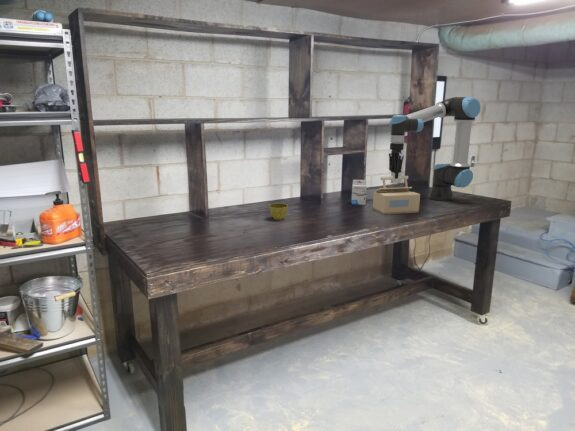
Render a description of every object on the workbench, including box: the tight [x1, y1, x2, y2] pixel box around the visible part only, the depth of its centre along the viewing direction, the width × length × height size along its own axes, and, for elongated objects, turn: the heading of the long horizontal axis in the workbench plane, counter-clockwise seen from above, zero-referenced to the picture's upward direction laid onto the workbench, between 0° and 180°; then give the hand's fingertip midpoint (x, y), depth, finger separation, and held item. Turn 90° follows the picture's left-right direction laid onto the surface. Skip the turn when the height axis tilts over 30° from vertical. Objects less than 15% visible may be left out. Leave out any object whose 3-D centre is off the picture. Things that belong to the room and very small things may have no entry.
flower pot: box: [268, 203, 289, 221], centre depth 235 cm, size 10×10×7 cm
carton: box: [372, 190, 421, 215], centre depth 255 cm, size 22×14×11 cm, turn 105°
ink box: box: [350, 179, 368, 206], centre depth 271 cm, size 9×5×15 cm, turn 84°
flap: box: [373, 175, 413, 193], centre depth 258 cm, size 21×8×7 cm, turn 105°
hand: (394, 183), depth 256 cm, fingers closed on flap, 2 cm apart
